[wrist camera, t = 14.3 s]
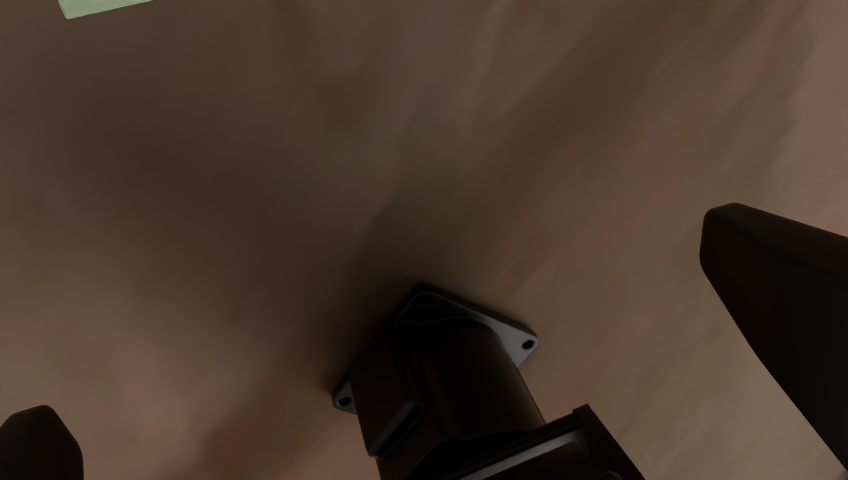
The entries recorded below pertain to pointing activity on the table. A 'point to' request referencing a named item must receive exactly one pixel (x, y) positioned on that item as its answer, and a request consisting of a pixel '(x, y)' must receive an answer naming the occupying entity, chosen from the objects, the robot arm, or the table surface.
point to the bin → (92, 6)
